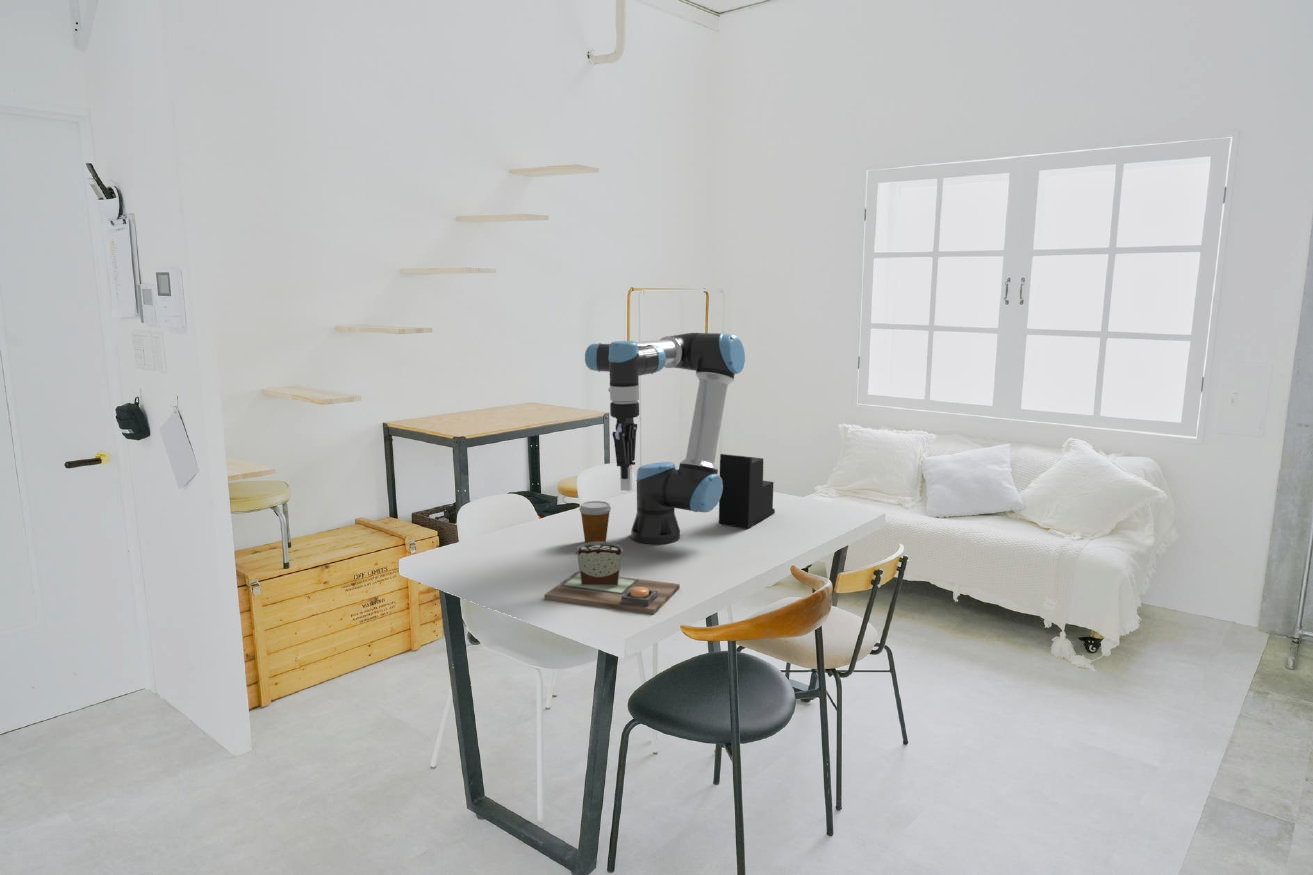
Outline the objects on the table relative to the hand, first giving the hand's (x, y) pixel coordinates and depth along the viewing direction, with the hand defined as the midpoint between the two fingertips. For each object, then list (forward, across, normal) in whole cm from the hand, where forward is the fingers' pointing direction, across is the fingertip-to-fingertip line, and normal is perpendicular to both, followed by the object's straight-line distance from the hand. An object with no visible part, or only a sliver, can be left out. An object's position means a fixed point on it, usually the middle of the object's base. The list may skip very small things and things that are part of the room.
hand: (626, 489), depth 231 cm
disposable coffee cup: (+25, -25, -19) cm, 40 cm away
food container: (+22, +11, -4) cm, 25 cm away
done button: (+21, +20, +10) cm, 31 cm away
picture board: (+23, +15, +1) cm, 28 cm away
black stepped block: (+26, -66, +19) cm, 74 cm away
